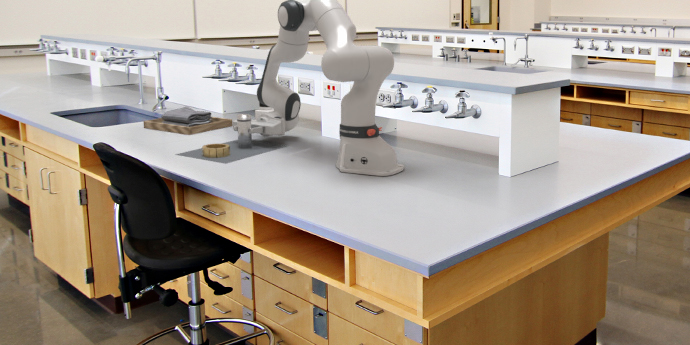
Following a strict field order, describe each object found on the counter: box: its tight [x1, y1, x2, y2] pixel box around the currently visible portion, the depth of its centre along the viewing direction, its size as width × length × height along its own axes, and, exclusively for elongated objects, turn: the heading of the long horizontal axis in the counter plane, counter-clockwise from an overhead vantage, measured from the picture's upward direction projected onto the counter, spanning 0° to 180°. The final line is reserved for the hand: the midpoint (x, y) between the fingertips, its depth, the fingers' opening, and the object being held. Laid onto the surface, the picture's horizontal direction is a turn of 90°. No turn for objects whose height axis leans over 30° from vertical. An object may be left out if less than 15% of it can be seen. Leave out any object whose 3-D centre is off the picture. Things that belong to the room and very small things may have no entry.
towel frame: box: [142, 116, 233, 136], centre depth 271 cm, size 28×25×3 cm
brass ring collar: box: [201, 143, 230, 158], centre depth 216 cm, size 9×9×3 cm
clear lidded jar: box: [236, 113, 253, 149], centre depth 227 cm, size 5×5×12 cm
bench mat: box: [175, 139, 288, 165], centre depth 224 cm, size 24×34×1 cm
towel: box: [160, 106, 213, 127], centre depth 272 cm, size 15×18×8 cm
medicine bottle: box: [254, 101, 274, 120], centre depth 274 cm, size 7×7×12 cm
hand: (243, 129), depth 226 cm, fingers open, 6 cm apart
